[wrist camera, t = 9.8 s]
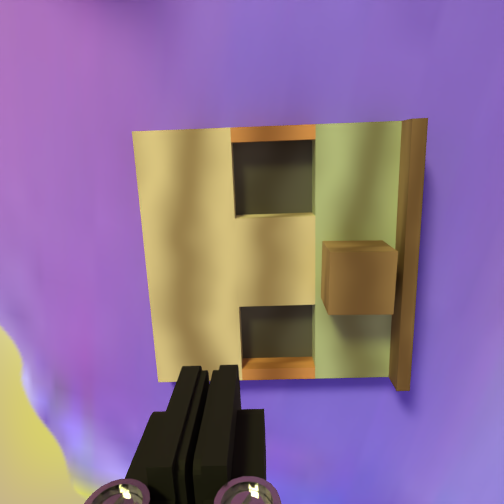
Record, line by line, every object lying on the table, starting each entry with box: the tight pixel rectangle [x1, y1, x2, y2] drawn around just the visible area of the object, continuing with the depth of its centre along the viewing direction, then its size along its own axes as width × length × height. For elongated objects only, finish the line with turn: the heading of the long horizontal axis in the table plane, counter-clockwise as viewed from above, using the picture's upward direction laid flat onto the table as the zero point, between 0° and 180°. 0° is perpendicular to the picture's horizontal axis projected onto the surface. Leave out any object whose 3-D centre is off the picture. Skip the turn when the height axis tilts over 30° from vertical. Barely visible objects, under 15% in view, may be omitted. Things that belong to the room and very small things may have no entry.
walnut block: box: [321, 240, 398, 315], centre depth 29 cm, size 4×4×4 cm
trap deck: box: [132, 118, 428, 391], centre depth 31 cm, size 20×20×4 cm
